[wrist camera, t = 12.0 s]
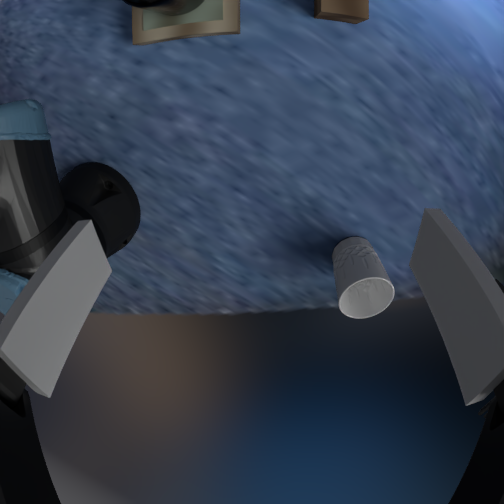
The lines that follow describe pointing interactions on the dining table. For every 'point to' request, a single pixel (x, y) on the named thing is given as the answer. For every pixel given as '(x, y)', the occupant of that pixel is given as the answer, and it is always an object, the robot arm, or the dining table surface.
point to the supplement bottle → (166, 6)
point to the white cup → (360, 279)
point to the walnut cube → (342, 10)
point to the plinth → (186, 22)
